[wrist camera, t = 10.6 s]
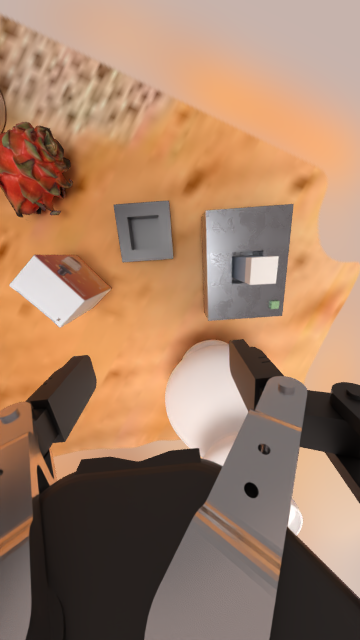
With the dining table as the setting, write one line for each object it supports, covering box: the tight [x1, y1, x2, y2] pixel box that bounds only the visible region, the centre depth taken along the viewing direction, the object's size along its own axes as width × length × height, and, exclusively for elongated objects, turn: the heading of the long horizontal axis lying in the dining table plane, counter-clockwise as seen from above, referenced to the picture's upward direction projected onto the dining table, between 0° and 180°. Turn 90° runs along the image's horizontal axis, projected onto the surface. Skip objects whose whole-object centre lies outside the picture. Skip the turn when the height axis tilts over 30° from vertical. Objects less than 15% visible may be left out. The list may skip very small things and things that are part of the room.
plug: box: [232, 256, 279, 285], centre depth 28 cm, size 3×3×10 cm
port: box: [201, 204, 293, 321], centre depth 31 cm, size 16×12×6 cm
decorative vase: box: [165, 340, 303, 535], centre depth 29 cm, size 18×18×25 cm
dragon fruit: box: [0, 122, 73, 217], centre depth 27 cm, size 8×8×12 cm
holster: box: [114, 201, 173, 262], centre depth 31 cm, size 8×8×3 cm
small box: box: [10, 255, 111, 327], centre depth 30 cm, size 8×6×10 cm
